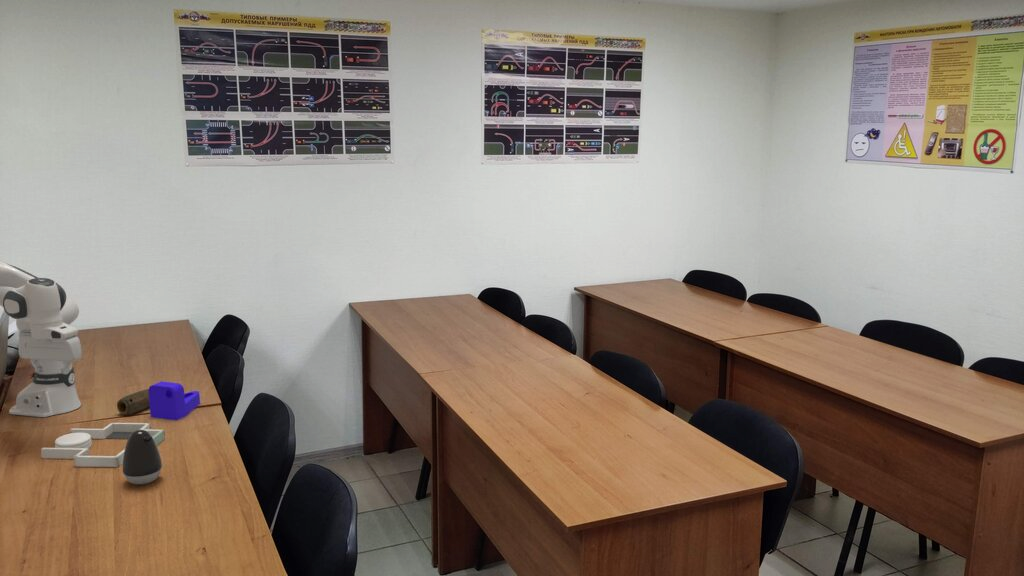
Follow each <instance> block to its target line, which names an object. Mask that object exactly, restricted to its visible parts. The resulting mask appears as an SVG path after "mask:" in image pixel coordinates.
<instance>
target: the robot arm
mask: <svg viewBox="0 0 1024 576" xmlns="http://www.w3.org/2000/svg"><path fill="white" fill-rule="evenodd" d="M0 306H1V307H3V310H4V312H5V313H6V314H7V316H9V317H11V318H12V319H14V320H16V321H15V323H16V324H15V325H16V329H17V330H18V331H19V333H18V355H19V357H20V358H21V359H25V360H26V359H28V360H29V359H30V363H31V365H32V366H33V368H34V372H33V373H31V374H30V375H29V379H32V382H30V383H29V384H28V385H27V386H26V387H25V388H23V389H22V390H20V392H19V393H18V394H17V396H16V400H15V405H13V406H11V408H9V411H8V414H10V415H18V416H27V417H36V418H37V417H38V418H46V417H51V416H54V415H60V414H65V413H69V412H72V411H75V410H77V409H79V408H80V407H81V406H82V403H81V401H80V398H79V395H78V392H77V388H76V385H75V383H76V380H75V379H76V376H75V369H74V367H73V362H75V361H78V360H80V359H81V358H82V353H83V351H82V345H81V340H80V338H79V337H78V336H77V335H78V334H79V329H78V328H77V327H75V326H73V325H71V324H72V323H74V322H75V321H76V320H77V318H78V316H79V314H80V309H79V305H78V304H77V302H76V301H75V300H74V299H72V298H70V297H67V292H66V291H65V289H64V288H63V287H62V286H61V285H60V284H59V283H58V282H56V281H55V280H53V279H51V278H47V277H39V276H36V275H33V273H30V272H27V271H26V270H23V269H21V268H19V267H18V266H15V265H12V264H9V263H6V262H2V261H0Z"/></svg>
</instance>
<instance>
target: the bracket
mask: <svg viewBox="0 0 1024 576" xmlns="http://www.w3.org/2000/svg"><path fill="white" fill-rule="evenodd" d="M148 389H149V390H148V391H149V403H150V407H149V411H150V413H149V414H150V418H156V419H163V420H164V419H165V420H170V421H171V420H172V421H179V420H181V419H183V418H185V417H187V416H188V415H190V413H191V412H192V411H194V409H196V408H197V407H198V406H199V405H200V404H201V396H200V391H199V390H193V391H192V390H191V391H189V392H185V388H184V386H183V385H182V384H181V383H178V382H170V381H161V380H160V381H159V382H157V383H154V384H152V385H150V386H149V388H148Z"/></svg>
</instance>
